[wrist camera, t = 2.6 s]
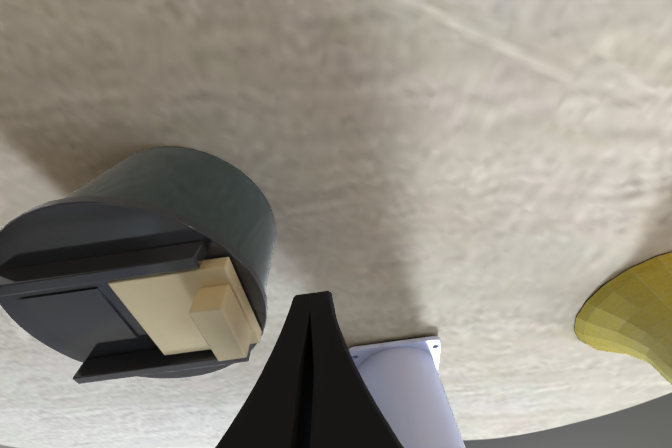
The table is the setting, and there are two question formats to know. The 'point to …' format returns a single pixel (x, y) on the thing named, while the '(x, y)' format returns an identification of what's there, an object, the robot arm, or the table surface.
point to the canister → (133, 257)
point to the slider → (193, 309)
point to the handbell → (633, 315)
